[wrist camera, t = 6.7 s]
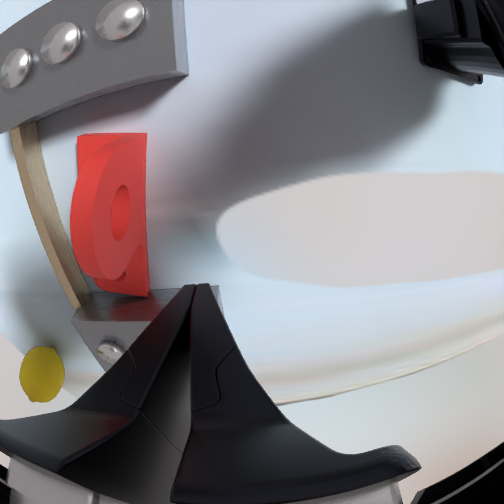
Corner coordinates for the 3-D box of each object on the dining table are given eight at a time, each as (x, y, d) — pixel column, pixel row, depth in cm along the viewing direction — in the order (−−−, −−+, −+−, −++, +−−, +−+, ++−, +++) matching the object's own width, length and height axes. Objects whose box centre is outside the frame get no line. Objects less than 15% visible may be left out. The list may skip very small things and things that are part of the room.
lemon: (70, 343, 25) (46, 401, 18) (74, 367, 28) (56, 419, 21) (32, 326, 24) (4, 378, 17) (39, 352, 26) (18, 400, 20)
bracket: (85, 133, 15) (6, 169, 8) (147, 132, 15) (86, 167, 8) (100, 280, 21) (63, 354, 14) (150, 287, 21) (124, 368, 15)
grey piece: (182, -22, 10) (168, -49, 6) (229, 343, 25) (229, 380, 22) (20, 42, 9) (-16, 42, 6) (110, 344, 25) (99, 376, 21)
